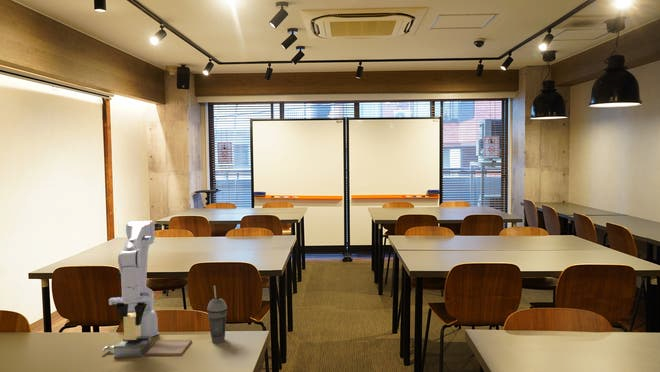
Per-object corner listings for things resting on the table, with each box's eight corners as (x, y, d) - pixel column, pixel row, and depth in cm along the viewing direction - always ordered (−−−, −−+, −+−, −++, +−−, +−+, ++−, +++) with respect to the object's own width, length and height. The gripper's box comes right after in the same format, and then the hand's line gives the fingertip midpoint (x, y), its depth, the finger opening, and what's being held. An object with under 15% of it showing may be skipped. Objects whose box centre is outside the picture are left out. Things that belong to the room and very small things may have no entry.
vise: (110, 347, 167) (110, 336, 167) (151, 346, 167) (150, 335, 167) (98, 357, 158) (97, 346, 158) (141, 356, 158) (140, 345, 158)
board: (158, 342, 171) (158, 340, 171) (191, 341, 171) (191, 339, 171) (145, 356, 159) (145, 353, 159) (181, 355, 159) (181, 353, 159)
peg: (129, 335, 164) (128, 313, 164) (140, 335, 164) (139, 312, 164) (124, 339, 160) (123, 316, 160) (136, 339, 160) (135, 316, 160)
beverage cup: (216, 346, 166) (215, 290, 165) (203, 341, 171) (201, 287, 170) (232, 339, 172) (231, 285, 171) (219, 335, 176) (217, 282, 175)
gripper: (103, 289, 157) (105, 329, 158) (147, 288, 157) (148, 328, 158) (113, 283, 164) (115, 321, 165) (155, 282, 164) (156, 321, 165)
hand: (132, 324), depth 162 cm, fingers closed on peg, 4 cm apart
